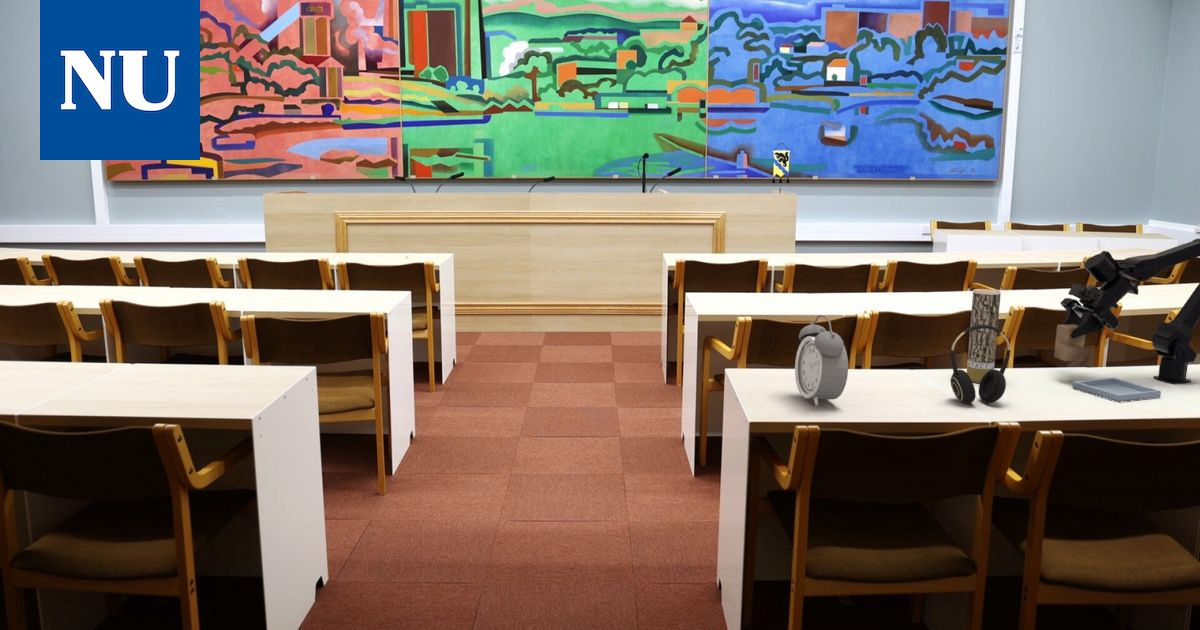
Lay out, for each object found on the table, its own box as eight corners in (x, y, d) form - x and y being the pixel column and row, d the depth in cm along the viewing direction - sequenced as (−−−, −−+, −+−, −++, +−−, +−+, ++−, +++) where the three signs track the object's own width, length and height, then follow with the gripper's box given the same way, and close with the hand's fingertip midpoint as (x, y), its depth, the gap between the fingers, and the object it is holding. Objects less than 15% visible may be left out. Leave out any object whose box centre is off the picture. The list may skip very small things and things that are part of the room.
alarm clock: (790, 393, 226) (794, 310, 222) (822, 392, 228) (826, 309, 223) (815, 411, 210) (820, 322, 206) (849, 410, 212) (854, 321, 208)
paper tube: (972, 376, 244) (980, 288, 239) (997, 381, 239) (1005, 291, 234) (961, 380, 239) (968, 290, 235) (986, 385, 234) (994, 293, 230)
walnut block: (1071, 356, 240) (1074, 324, 238) (1082, 360, 235) (1086, 328, 233) (1054, 356, 240) (1057, 324, 238) (1064, 361, 235) (1067, 328, 233)
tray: (1112, 384, 236) (1113, 377, 236) (1160, 397, 223) (1160, 390, 223) (1072, 388, 232) (1073, 381, 231) (1118, 402, 219) (1119, 395, 218)
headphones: (940, 398, 222) (945, 321, 219) (997, 397, 223) (1004, 321, 219) (954, 407, 214) (960, 327, 210) (1013, 407, 214) (1021, 327, 210)
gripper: (1070, 269, 242) (1028, 308, 244) (1113, 278, 224) (1067, 321, 225) (1094, 296, 244) (1052, 335, 246) (1139, 308, 226) (1093, 350, 227)
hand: (1065, 335), depth 236 cm, fingers closed on walnut block, 5 cm apart
